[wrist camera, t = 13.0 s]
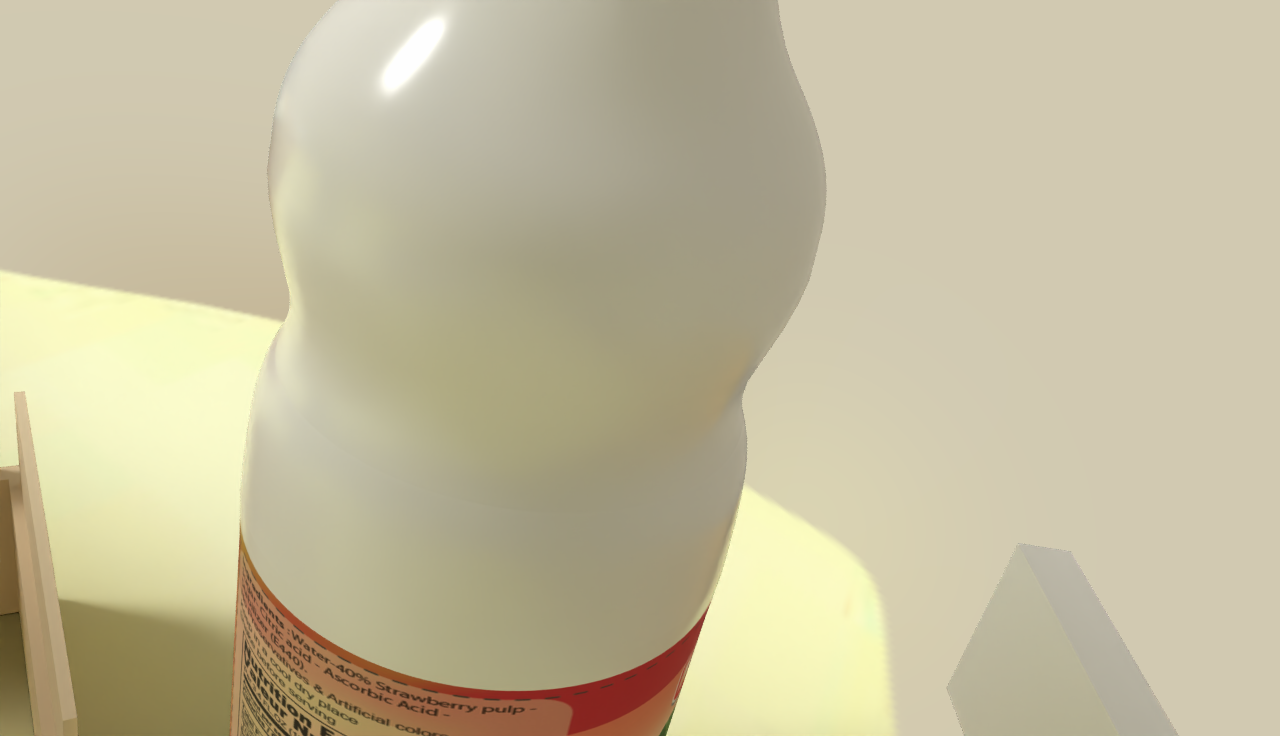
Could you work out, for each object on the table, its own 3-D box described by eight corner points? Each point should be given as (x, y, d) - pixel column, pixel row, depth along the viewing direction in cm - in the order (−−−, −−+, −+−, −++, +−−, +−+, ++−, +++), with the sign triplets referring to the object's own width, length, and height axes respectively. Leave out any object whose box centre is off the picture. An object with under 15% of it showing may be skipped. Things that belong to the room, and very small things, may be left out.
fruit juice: (237, 738, 30) (307, -529, 16) (569, 729, 33) (864, -360, 19) (198, 1109, 22) (268, -701, 9) (636, 1056, 25) (1207, -376, 12)
